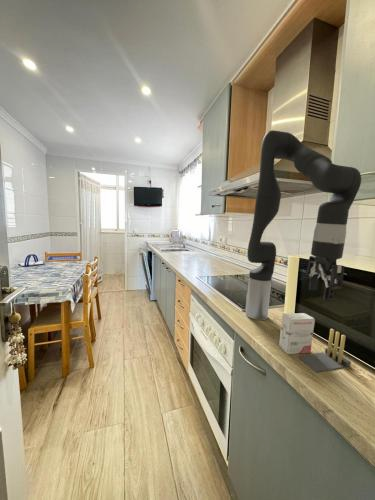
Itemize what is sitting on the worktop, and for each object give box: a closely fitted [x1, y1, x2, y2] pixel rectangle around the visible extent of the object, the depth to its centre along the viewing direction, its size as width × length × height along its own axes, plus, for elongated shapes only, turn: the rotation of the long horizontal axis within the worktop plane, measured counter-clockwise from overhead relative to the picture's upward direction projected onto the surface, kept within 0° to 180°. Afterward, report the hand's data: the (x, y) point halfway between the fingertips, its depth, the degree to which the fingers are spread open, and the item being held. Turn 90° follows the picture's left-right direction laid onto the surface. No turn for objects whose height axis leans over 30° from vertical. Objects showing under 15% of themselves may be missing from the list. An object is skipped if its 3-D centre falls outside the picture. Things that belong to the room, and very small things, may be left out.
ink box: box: [278, 312, 316, 355], centre depth 68 cm, size 9×5×12 cm, turn 99°
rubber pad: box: [297, 351, 344, 373], centre depth 63 cm, size 7×10×1 cm
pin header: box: [324, 328, 352, 368], centre depth 64 cm, size 7×3×9 cm, turn 15°
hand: (319, 294), depth 62 cm, fingers open, 8 cm apart
